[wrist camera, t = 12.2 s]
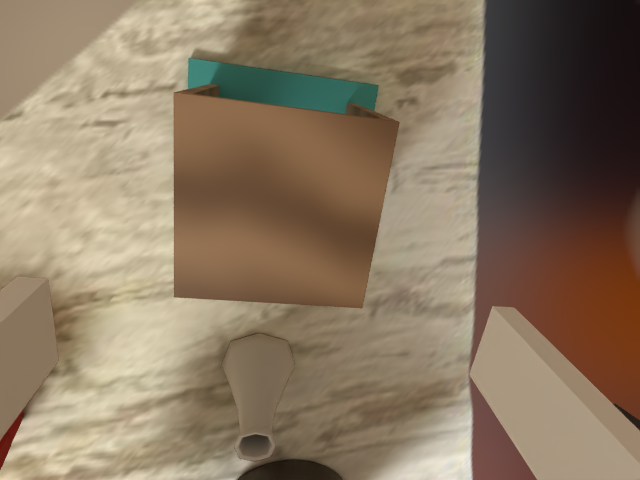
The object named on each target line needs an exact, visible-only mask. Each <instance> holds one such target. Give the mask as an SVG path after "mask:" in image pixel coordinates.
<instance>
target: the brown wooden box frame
mask: <svg viewBox="0 0 640 480" xmlns="http://www.w3.org/2000/svg"><path fill="white" fill-rule="evenodd" d="M398 127H399V122H398V121H395V120H393V119H391V118H388V117H386V116H384V115H381V114H379V113H376V112H374V111H372V110H369V109H367V108H365V107H362V106H360V105H358V104H353V103H347V107H346V113H345V114H342V113H334V112H326V111H319V110H311V109H304V108H296V107H288V106H281V105H273V104H266V103H258V102H250V101H243V100H235V99H227V98H220V97H219V85H214V84H207V85H203V86H199V87H195V88H191V89H187V90H183V91H178V92H174V297H179V298H197V299H214V300H231V301H248V302H265V303H283V304H300V305H317V306H334V307H351V308H362V307H363V302H364V297H365V292H366V287H367V282H368V277H369V272H370V267H371V262H372V257H373V252H374V247H375V242H376V237H377V232H378V227H379V222H380V217H381V212H382V207H383V202H384V197H385V192H386V187H387V182H388V177H389V172H390V167H391V162H392V157H393V152H394V147H395V142H396V137H397V132H398Z"/></svg>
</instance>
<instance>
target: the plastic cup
mask: <svg viewBox="0 0 640 480" xmlns="http://www.w3.org/2000/svg"><path fill="white" fill-rule="evenodd" d="M22 417H23V411H21V413H20V414H19V415H18V417H17V418H16V420H15V421H14V422H13V424H12V425H11V426H10V428H9V429H8V430H7V432H6V433H5V434H4V436H3V437H2V439H1V440H0V470H1V467H2V465H3V463H4V461H5V458H6V456H7V454H8V451H9V449H10V447H11V443H12V441H13V439H14V437H15V435H16V433H17V431H18V429H19V426H20V424H21V421H22Z"/></svg>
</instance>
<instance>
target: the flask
mask: <svg viewBox="0 0 640 480" xmlns="http://www.w3.org/2000/svg"><path fill="white" fill-rule="evenodd" d="M294 365H295V361H294V358H293V355H292V352H291V350H290V347H289V344H288V341H286V340H283V339H279V338H275V337H271V336H268V335H264V334H260V333H258V334H255V335H251V336H248V337H244V338H241V339H237V340H234V341H231V342H230V344H229V347H228V349H227V352H226V354H225V357H224V360H223V362H222V367H223V370H224V373H225V375H226V378H227V380H228V383H229V385H230V388H231V391H232V394H233V397H234V400H235V403H236V406H237V409H238V416H239V424H240V430H239V435H238V438H237V440H236V442H235V445H234V448H235V450H236V452H237V454H238V456H239V458H240V459H244V460H250V461H259V460H262V459H266V458H269V457H271V455H272V453H273V451H274V449H275V447H276V441H275V439H274V437H273V434H272V425H273V420H274V415H275V410H276V407H277V405H278V402H279V400H280V397H281V395H282V392H283V390H284V387H285V385H286V383H287V381H288V378H289V376H290V374H291V372H292V370H293V367H294Z"/></svg>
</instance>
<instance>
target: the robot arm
mask: <svg viewBox="0 0 640 480" xmlns="http://www.w3.org/2000/svg"><path fill="white" fill-rule="evenodd" d="M58 361H59V358H58V350H57V342H56V334H55V327H54V319H53V311H52V303H51V296H50V288H49V280H48V278H34V277H18V276H17V277H16V278H15V279H14V280H12V281H11V282H10V283H9V284H7V285H6V286H5V287H4V288H2V289H1V290H0V440H1V439H2V437H3V436H4V434H5V433H6V432H7V430H8V429H9V428H10V426H11V425H12V424H13V422H14V421H15V420H16V418H17V417H18V415H19V414H20V413H21V411H22V410H23V409H24V407H25V406H26V405H27V403H28V402H29V400H30V399H31V398H32V396H33V395H34V394H35V392H36V391H37V390H38V388H39V387H40V385H41V384H42V383H43V381H44V380H45V379H46V377H47V376H48V375H49V373H50V372H51V370H52V369H53V368H54V366H55V365H56V364H57V362H58ZM469 375H470V376H471V378H472V380H473V381H474V383H475V384H476V386H477V387H478V389H479V390H480V392H481V393H482V395H483V397H484V398H485V400H486V401H487V403H488V404H489V406H490V407H491V409H492V410H493V412H494V414H495V415H496V417H497V418H498V420H499V421H500V423H501V424H502V426H503V427H504V429H505V430H506V432H507V434H508V435H509V437H510V438H511V440H512V441H513V443H514V444H515V446H516V447H517V449H518V451H519V452H520V454H521V455H522V457H523V458H524V459H525V461H526V463H527V464H528V466H529V467H530V469H531V471H532V472H533V474H534V475H535V477H536V478H537V480H640V420H638V419H637V418H635V417H634V416H632V415H631V414H629V413H628V412H626V411H625V410H624V409H622V408H621V407H619V406H618V405H616V404H612V403H611V402H610V401H609V400H608V399H607V398H606V397H605V396H604V395H603V394H602V393H601V392H600V391H599V390H598V389H597V388H596V387H595V386H594V385H593V384H592V383H591V382H590V381H589V380H588V379H587V378H586V377H585V376H583V375H582V374H581V373H580V372H579V371H578V370H577V369H576V368H575V367H574V366H573V365H572V364H571V363H570V362H569V361H568V360H567V359H566V358H565V357H564V356H563V355H562V354H561V353H560V352H559V351H558V350H557V349H556V348H555V347H554V346H553V345H552V344H551V343H550V342H549V341H548V340H547V339H546V338H545V337H544V336H543V335H542V334H540V333H539V331H538V330H537V329H536V328H535V327H533V325H531V323H529V322H528V321H527V320H526V319H525V318H524V317H523V316H522V315H521V314H520V313H519V312H518V311H517V310H516V309H515V308H512V307H496V306H493V307H492V309H491V312H490V315H489V318H488V321H487V324H486V327H485V330H484V333H483V336H482V339H481V342H480V345H479V348H478V351H477V354H476V357H475V360H474V363H473V365H472V368H471V371H470V374H469ZM239 480H343V479H342V478H341V477H340V476H339V475H338V474H337V473H335V472H334V471H333V470H331V469H329V468H327V467H325V466H323V465H320V464H317V463H313V462H307V461H281V462H275V463H271V464H267V465H264V466H261V467H259V468H256V469H254V470H252V471H250V472H248V473H247V474H245V475H244V476H242V477H241V478H240V479H239Z"/></svg>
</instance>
